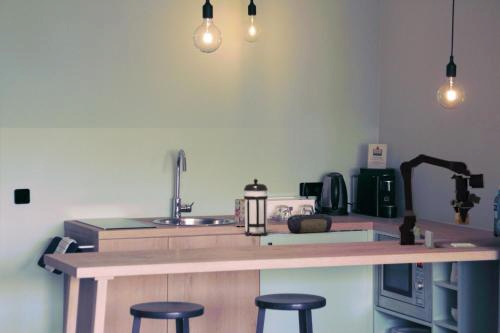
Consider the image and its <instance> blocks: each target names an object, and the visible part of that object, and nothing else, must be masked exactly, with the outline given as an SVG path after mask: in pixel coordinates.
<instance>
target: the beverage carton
mask: <svg viewBox="0 0 500 333" xmlns="http://www.w3.org/2000/svg"><path fill="white" fill-rule="evenodd" d="M402 224H403V223H398V228H399V227H400V226H401V225H402ZM399 231H400V230H399V229H398V232H399ZM413 231H414V235H415V240H417V239H418V240H420V239H421V228H420V227H419V226H418V225H416V227H414V229H413Z"/></svg>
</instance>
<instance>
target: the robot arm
mask: <svg viewBox="0 0 500 333" xmlns="http://www.w3.org/2000/svg"><path fill="white" fill-rule="evenodd" d="M423 163H425V164H428V165H431V166H435V167H441V168H443V169H448V170H449V171H451V172H452V173H453V172H454V174H453V175H452V176H451V177H450V179H451V180H454V186H455V187H454V188H455V190H453V191H454V192H453V193H455V198H454V199H452V198H451V200H450V201H449V203H450V206H452V208H453V210H454V212H455V213H459V214H460V216H461V219H462V222H465V221H466V217H467V213H468V214H469V211H470V210H472V208H475V204H478V205H479V204H480V202H481V198H482V197H481V196H477V195H476V194H475V193H471V191H470V190H469V187H471V189H485V188H486V187H485V186H486V183H485V176H484V175H485V174H484V173H477V174H476V173H472V172H471V171H470V170H469V166H468V163H466V162H465V161H457V160H449V159H444V158H443V159H442V158H439V157H435V156H430V155H428V154H427V155H426V153H420V154H418V155H417V156H416V157H414V158H412V159H410V160H409V161H407V160H406V161H402V162H401V163H400V165H399V170H400V174H401V178H402V181H403V190H404V193H403V194H404V208H405V209H404V210H405V211H404V214H403V224H402V223H401V224H402V225H401V226H400V227H399V226H398V235H399V238H398V239H399V242H398V244H399V245H401V246H403V245H404V246H405V245H407V244H416V239H415V235H414V231H413V229H414V227H416V226H418V224H419V222H420V220H419V212H416V211H415V202H414V188H413V187H414V185H413V178H414V175H415V174H414V172H415V168H417V167H419V166H420V165H421V164H423ZM457 174H458V175H457ZM463 175H464V176H463ZM455 213H454V214H455ZM399 230H400V231H399ZM407 246H408V245H407Z"/></svg>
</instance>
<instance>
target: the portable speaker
mask: <svg viewBox="0 0 500 333" xmlns="http://www.w3.org/2000/svg"><path fill="white" fill-rule="evenodd" d="M286 224H287V228H288V231H289V232H290V233H292V234H316V233H327V232H329V231H330V230H331V229H332V225H333V222H332V217H331V215H329V214H327V213H326V214H325V213H318V214H317V213H316V214H295V215H292V216H289V217H288V219H287V222H286Z"/></svg>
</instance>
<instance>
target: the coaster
mask: <svg viewBox="0 0 500 333" xmlns="http://www.w3.org/2000/svg"><path fill="white" fill-rule="evenodd" d="M450 246H452V247H454V248H457V249H458V248H459V249H460V248H465V249H466V248H469V249H470V248H477V246H476V245H474V244H472V243H470V242H469V243H464V242H463V243H450Z"/></svg>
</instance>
